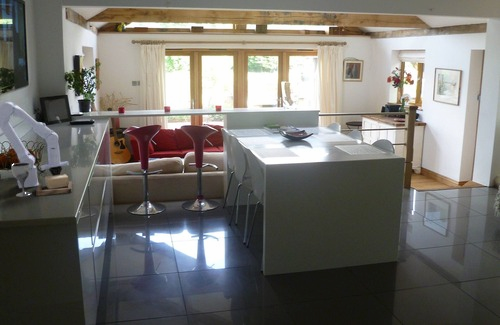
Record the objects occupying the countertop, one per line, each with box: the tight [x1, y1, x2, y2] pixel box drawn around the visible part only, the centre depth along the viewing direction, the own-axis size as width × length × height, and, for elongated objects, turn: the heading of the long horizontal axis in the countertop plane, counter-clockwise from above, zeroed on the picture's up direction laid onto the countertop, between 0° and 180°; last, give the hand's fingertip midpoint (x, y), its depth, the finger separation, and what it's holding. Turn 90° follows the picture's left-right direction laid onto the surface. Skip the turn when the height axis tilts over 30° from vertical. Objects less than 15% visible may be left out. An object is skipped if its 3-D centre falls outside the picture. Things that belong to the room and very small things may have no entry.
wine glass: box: [10, 162, 33, 198], centre depth 238 cm, size 8×8×15 cm
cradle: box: [35, 180, 73, 196], centre depth 246 cm, size 16×14×2 cm
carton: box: [44, 173, 70, 190], centre depth 253 cm, size 10×7×5 cm
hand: (56, 180), depth 259 cm, fingers closed
